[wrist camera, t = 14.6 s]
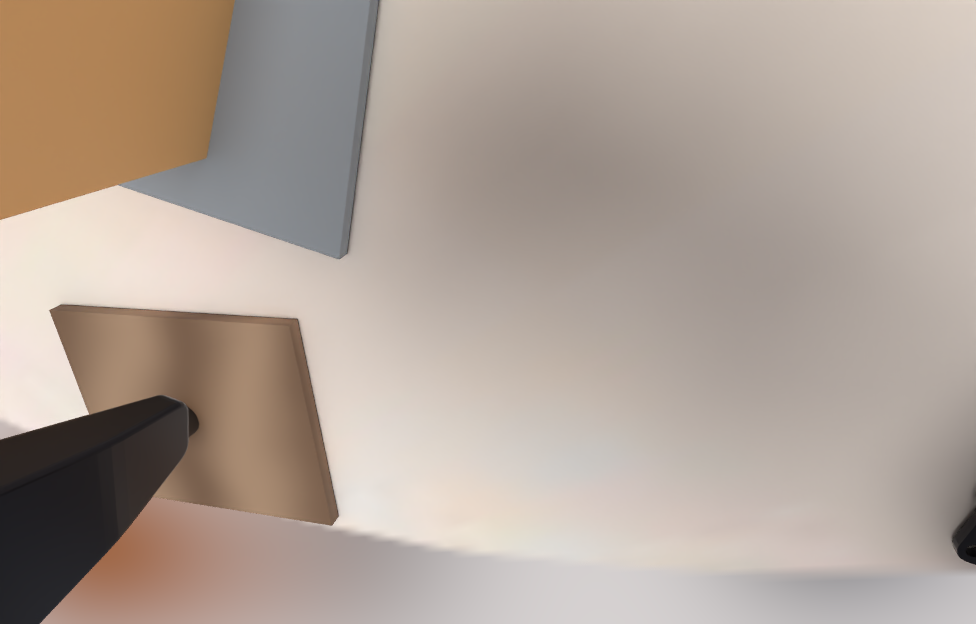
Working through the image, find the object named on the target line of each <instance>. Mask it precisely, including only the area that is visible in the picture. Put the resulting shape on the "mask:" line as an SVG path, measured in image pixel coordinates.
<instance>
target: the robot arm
mask: <svg viewBox="0 0 976 624" xmlns="http://www.w3.org/2000/svg"><path fill="white" fill-rule="evenodd" d="M188 442H189V429H188V407H187V405H186V404H185V403H184V402H182V401H179V400H177V399H174V398H171V397H169V396H166V395H157V396H153V397H150V398H146V399H142V400H139V401H135V402H132V403H128V404H125V405H121V406H118V407H114V408H111V409H107V410H103V411H100V412H96V413H93V414H89V415H86V416H82V417H79V418H75V419H72V420H68V421H65V422H61V423H57V424H54V425H50V426H47V427H43V428H40V429H36V430H33V431H29V432H26V433H22V434H19V435H15V436H11V437H8V438H4V439H1V440H0V624H40V623H41V622H42V621H43V619H45V617H46V616H47V615H48V614H49V613H50V612H51V611H52V610H53V609H54V608H55V607H56V606H57V605H58V604H59V602H61V601H62V599H63V598H64V597H65V596H66V595H67V594H68V593H69V592H70V591H71V590H72V589H73V588H74V587H75V586H76V585H77V584H78V582H80V580H81V579H82V578H83V577H84V576H85V575H86V574H87V573H88V572H89V571H90V570H91V569H92V567H94V566H95V564H97V562H98V561H99V560H100V559H101V558H102V557H103V556H104V555H105V554H106V553H107V552H108V551H109V550H110V549H111V547H112V546H113V545H114V544H115V543H116V542H117V541H118V540H119V539H120V537H121V536H122V535H123V534H124V532H125V531H126V530H127V529H128V528H129V526H130V525H131V524H132V523H133V521H134V520H135V519H136V517H137V516H138V515H139V514H140V512H141V511H142V510H143V509H144V507H145V506H146V505H147V503H148V502H149V501H150V500H151V498H152V497H153V496H154V494H155V493H156V492H157V490H158V489H159V488H160V487H161V485H162V484H163V483H164V481H165V480H166V479H167V478H168V476H169V475H170V474H171V472H172V471H173V470H174V469H175V467H176V466H177V465H178V463H179V462H180V461H181V460H182V458H183V457H184V455H185V453H186V450H187V448H188ZM952 543H953V547H954V549H955V551H956V553H957V554H958V556H959V557H960V558H961V559H963V560H964V561H966V562H969V563H972V564H975V565H976V547H974V548H968V547H969V546H972V545H976V509H975V512H974V513H973V515H972V516H971V517H970V518H969V519H968V521H967V522H966V523H965V524H964V526H963V527H962V528H961V529H960V530H959V532H958V533H957V534H956V535H955V537H954V538H953V541H952Z"/></svg>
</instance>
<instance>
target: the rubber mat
mask: <svg viewBox="0 0 976 624" xmlns="http://www.w3.org/2000/svg"><path fill="white" fill-rule="evenodd" d="M378 3H379V0H235V3H234V8H233V14H232V19H231V25H230V30H229V36H228V42H227V47H226V53H225V58H224V64H223V69H222V75H221V81H220V86H219V92H218V97H217V103H216V108H215V114H214V119H213V125H212V131H211V136H210V142H209V147H208V153H207V158H206V159H202V160H199V161H196V162H192V163H189V164H186V165H182V166H179V167H176V168H172V169H169V170H166V171H162V172H159V173H155V174H152V175H149V176H145V177H142V178H139V179H135V180H132V181H129V182H125V183H122V184H119V186H122V187H125V188H128V189H131V190H134V191H137V192H140V193H143V194H146V195H149V196H152V197H155V198H158V199H161V200H164V201H167V202H170V203H173V204H176V205H179V206H182V207H185V208H188V209H191V210H194V211H196V212H199V213H202V214H205V215H208V216H211V217H214V218H217V219H220V220H223V221H226V222H229V223H232V224H235V225H238V226H241V227H244V228H247V229H250V230H253V231H256V232H259V233H262V234H265V235H268V236H271V237H274V238H277V239H280V240H283V241H286V242H289V243H292V244H295V245H298V246H301V247H304V248H307V249H310V250H313V251H316V252H319V253H322V254H325V255H328V256H331V257H334V258H337V259H340V258H342V257H343V256H344V255H346V254H347V249H348V241H349V233H350V225H351V217H352V209H353V201H354V193H355V185H356V177H357V169H358V161H359V153H360V145H361V137H362V129H363V122H364V114H365V106H366V98H367V90H368V82H369V74H370V66H371V58H372V50H373V42H374V34H375V26H376V18H377V10H378Z"/></svg>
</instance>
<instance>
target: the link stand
mask: <svg viewBox="0 0 976 624" xmlns="http://www.w3.org/2000/svg"><path fill="white" fill-rule="evenodd" d="M49 311H50V313H51V316H52V319H53V321H54V324H55V326H56V329H57V332H58V334H59V337H60V339H61V342H62V345H63V347H64V350H65V352H66V355H67V358H68V360H69V363H70V366H71V368H72V371H73V373H74V376H75V379H76V381H77V384H78V386H79V389H80V392H81V394H82V397H83V399H84V402H85V405H86V407H87V410H88V412H89V414H93V413H96V412H100V411H103V410H107V409H111V408H114V407H118V406H121V405H125V404H128V403H132V402H135V401H139V400H142V399H146V398H150V397H153V396H157V395H166V396H169V397H171V398H174V399H177V400H179V401H182V402H184V403H185V404H186V405H187V407H188V429H189V442H188V448H187V450H186V453H185V455H184V457H183V458H182V460H181V461H180V462H179V463H178V465H177V466H176V467H175V469H174V470H173V471H172V472H171V474H170V475H169V476H168V478H167V479H166V480H165V481H164V483H163V484H162V485H161V487H160V488H159V489H158V490H157V492H156V493H155V494H154V496H153V497H157V498H163V499H169V500H175V501H181V502H189V503H194V504H200V505H207V506H213V507H219V508H226V509H232V510H238V511H244V512H250V513H256V514H263V515H269V516H275V517H281V518H288V519H294V520H300V521H306V522H313V523H319V524H325V525H331V526H332V525H333V524H334V522H335V521H336V519H337V518H338V512H337V507H336V503H335V498H334V493H333V488H332V483H331V479H330V474H329V469H328V464H327V459H326V455H325V450H324V445H323V440H322V435H321V431H320V426H319V421H318V416H317V411H316V407H315V402H314V397H313V392H312V387H311V383H310V378H309V373H308V368H307V363H306V359H305V354H304V349H303V344H302V339H301V335H300V330H299V325H298V320H297V319H282V318H266V317H250V316H234V315H218V314H202V313H186V312H170V311H153V310H137V309H121V308H105V307H89V306H73V305H59V306H57V307H55V308H53V309H51V310H49Z"/></svg>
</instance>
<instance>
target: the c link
mask: <svg viewBox="0 0 976 624" xmlns="http://www.w3.org/2000/svg"><path fill="white" fill-rule="evenodd" d="M234 3H235V0H0V220H1V219H5V218H8V217H11V216H15V215H18V214H21V213H25V212H28V211H32V210H35V209H38V208H42V207H45V206H48V205H52V204H55V203H58V202H62V201H65V200H68V199H72V198H75V197H78V196H82V195H85V194H88V193H92V192H95V191H99V190H102V189H105V188H109V187H112V186H115V185H119V184H122V183H125V182H129V181H132V180H135V179H139V178H142V177H145V176H149V175H152V174H155V173H159V172H162V171H166V170H169V169H172V168H176V167H179V166H182V165H186V164H189V163H192V162H196V161H199V160H202V159H206V158H207V153H208V147H209V142H210V136H211V131H212V125H213V119H214V114H215V108H216V103H217V97H218V92H219V86H220V81H221V75H222V69H223V64H224V58H225V53H226V47H227V42H228V36H229V30H230V25H231V19H232V14H233V8H234Z"/></svg>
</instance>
